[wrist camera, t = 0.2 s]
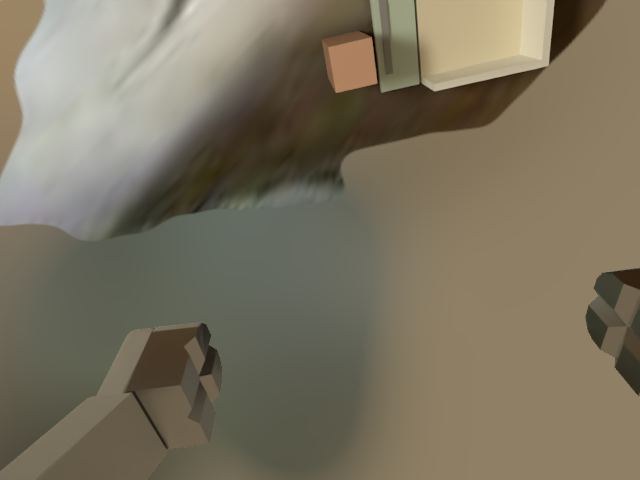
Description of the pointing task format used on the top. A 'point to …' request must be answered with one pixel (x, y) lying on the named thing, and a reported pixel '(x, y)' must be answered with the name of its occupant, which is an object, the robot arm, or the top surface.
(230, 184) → the top surface
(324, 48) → the terracotta block
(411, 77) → the panel
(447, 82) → the tray
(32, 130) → the top surface
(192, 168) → the top surface
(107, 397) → the robot arm
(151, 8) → the top surface
